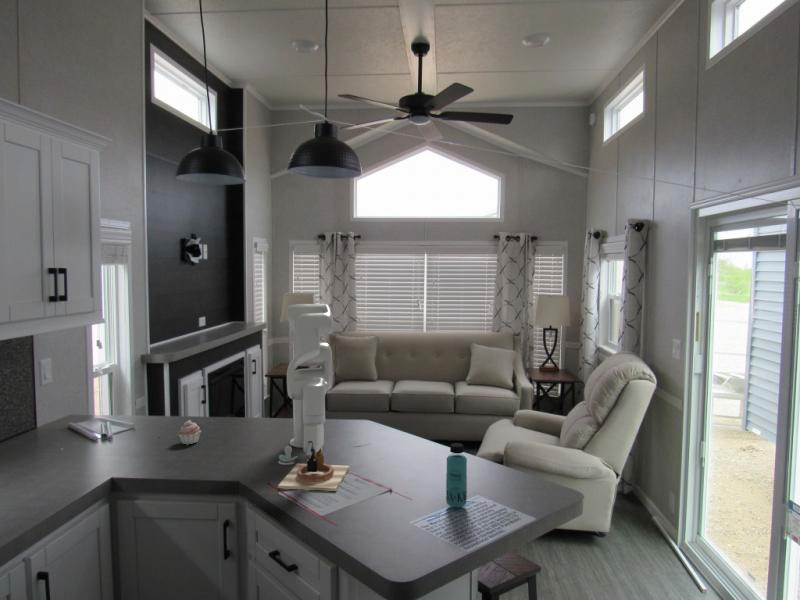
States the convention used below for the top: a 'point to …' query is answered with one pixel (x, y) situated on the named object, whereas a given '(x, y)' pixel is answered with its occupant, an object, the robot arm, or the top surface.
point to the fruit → (318, 459)
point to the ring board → (317, 485)
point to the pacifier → (287, 457)
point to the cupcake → (189, 433)
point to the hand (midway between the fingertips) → (315, 467)
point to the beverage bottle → (456, 477)
